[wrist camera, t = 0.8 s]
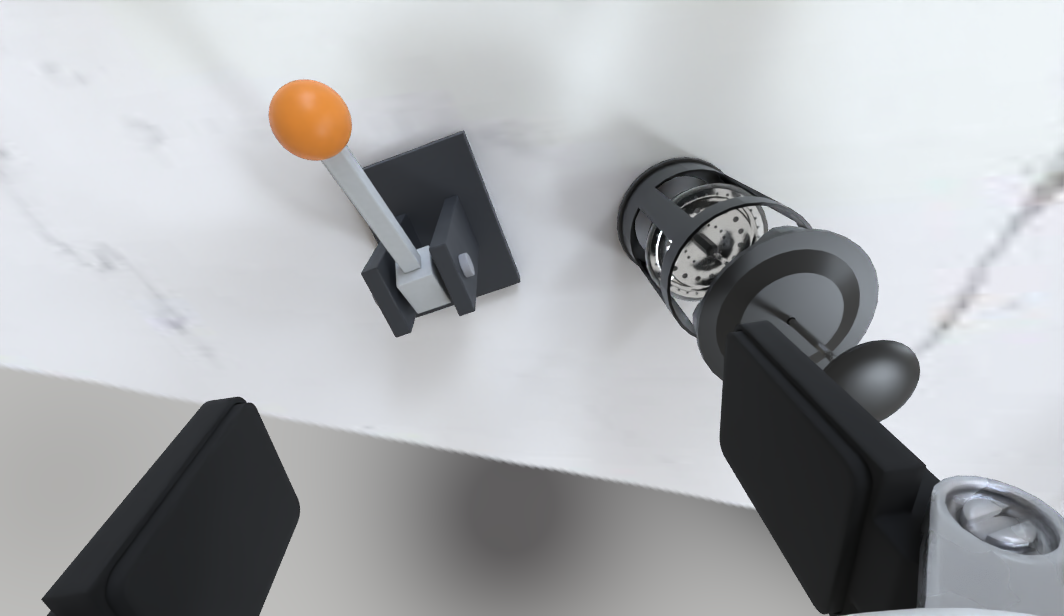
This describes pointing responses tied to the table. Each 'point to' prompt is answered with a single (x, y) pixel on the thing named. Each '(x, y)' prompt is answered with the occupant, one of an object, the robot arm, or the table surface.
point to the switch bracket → (439, 228)
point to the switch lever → (352, 180)
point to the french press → (764, 279)
